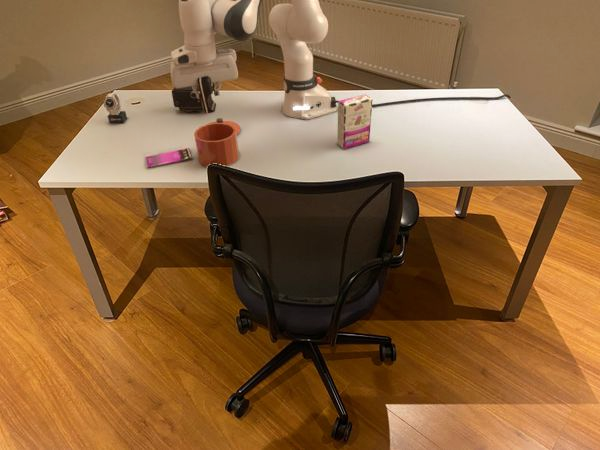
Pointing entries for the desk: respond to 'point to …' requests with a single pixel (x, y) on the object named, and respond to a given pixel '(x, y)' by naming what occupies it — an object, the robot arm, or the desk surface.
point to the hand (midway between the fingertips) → (208, 96)
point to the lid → (228, 123)
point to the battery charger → (206, 94)
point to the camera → (187, 99)
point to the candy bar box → (354, 121)
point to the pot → (216, 144)
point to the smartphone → (168, 157)
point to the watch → (114, 109)
